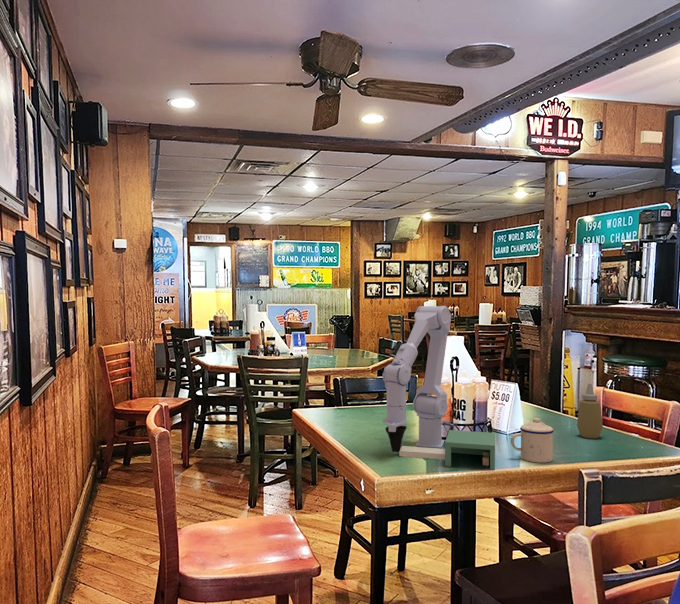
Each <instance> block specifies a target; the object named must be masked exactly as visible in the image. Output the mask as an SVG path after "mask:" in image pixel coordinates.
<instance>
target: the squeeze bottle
mask: <svg viewBox="0 0 680 604" xmlns="http://www.w3.org/2000/svg"><path fill="white" fill-rule="evenodd" d="M601 405H602V404H601V402H600V401H599V400H598V394H595V393H594V388H593V384H592V383H587V386H586V391H585V393H582V399H581V400H579V404H578V413H577V420H576V421H577V422H576V423H577V424H576V427H577V429H578V433H579V436H580V437H583V438H585V439H598V438H600V436H601V433H602V431H603V428H604V426H603V416H602V407H601Z"/></svg>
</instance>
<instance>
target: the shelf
mask: <svg viewBox="0 0 680 604" xmlns="http://www.w3.org/2000/svg"><path fill="white" fill-rule="evenodd" d="M495 437H496V435H495V432H487V431H474V430H473V431H471V430H459V429H458V430H453V429H449V430H448V433H447V435H446V439H445V440H444V449H445V460H444V467H452V453H453V454H464V455H479V456H482V466H487V467H488V466H489V467H490V468H489V469H490V470H492V471H494V470H496V469H495V468H496V440H495V439H496V438H495Z"/></svg>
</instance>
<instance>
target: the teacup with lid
mask: <svg viewBox="0 0 680 604" xmlns="http://www.w3.org/2000/svg"><path fill="white" fill-rule="evenodd" d="M519 429H520V432H519V433H517V432H516V433H514V434H513V435H512V436H511V437H510V444H511V447H512V448H513V449H514V450H515V451H518V452H520V457H521V459H522V460H524V461H527V462H531V463H538V464H541V463H542V464H543V463H546V464H547V463H550V462H552V461H553V457H554V455H553V453H554V451H553V450H554V447H553V445H554V444H553V438H554V434H553V433H554V429H553V427H551V426H550V425H546V424H545V423H544V422H542V421H541V418H537V417H535V418H532V421H530V422H528V423H525V424H522V425H521V426H520V428H519ZM517 437H520V447H517V446H516V445H515V442H514V441H515V438H517Z"/></svg>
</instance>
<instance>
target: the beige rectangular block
mask: <svg viewBox="0 0 680 604" xmlns="http://www.w3.org/2000/svg"><path fill="white" fill-rule="evenodd" d="M398 453H399V455H398V456H403V457H404V458H412V457H415V458H416V459H426V458H429V460H442V461H445V448H433V447H419V446H408V445H401V449H400V451H399V452H398ZM403 457H402V458H403Z"/></svg>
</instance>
